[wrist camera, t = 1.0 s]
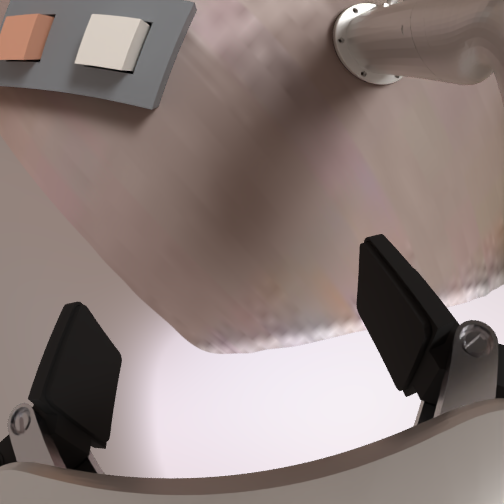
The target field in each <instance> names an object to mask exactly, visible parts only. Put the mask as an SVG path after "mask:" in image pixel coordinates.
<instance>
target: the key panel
mask: <svg viewBox="0 0 504 504" xmlns="http://www.w3.org/2000/svg"><path fill="white" fill-rule="evenodd" d="M196 11H197V9H196V6H195V3H194V2H190V1H185V0H11V1H10V3H9V6H8V8H7V11H6V13H5V16H4V19H3V22H2V25H1V28H0V33H1V30H2V27H3V24H4V21H5V18H6V17H7V16H15V15H26V14H42V15H47V16H51V17H55V18H54V20H53V23H52V26H51V29H50V31H49V34H48V37H47V40H46V43H45V46H44V50H43V53H42V56H41V60H40V61H22V60H0V86H8V87H22V88H32V89H42V90H50V91H58V92H65V93H72V94H78V95H84V96H90V97H96V98H101V99H106V100H111V101H116V102H121V103H126V104H130V105H134V106H139V107H143V108H147V109H151V110H152V109H154V108H156V107H158V106H159V103H160V100H161V97H162V94H163V92H164V89H165V86H166V83H167V80H168V78H169V75H170V72H171V69H172V67H173V64H174V62H175V59H176V57H177V54H178V52H179V49H180V47H181V44H182V42H183V40H184V37H185V35H186V33H187V30H188V28H189V26H190V24H191V22H192V19H193V17H194V15H195V13H196ZM92 14H102V15H113V16H122V17H130V18H137V19H141V20H143V21H144V22H146V23H147V24H148V25H150V26H151V28H150V31H149V33H148V35H147V38H146V40H145V43H144V45H143V48H142V51H141V53H140V56H139V59H138V61H137V64H136V67H135V70H134V73H129V72H124V71H119V70H113V69H107V68H100V67H96V66H92V65H84V64H76V63H75V60H76V57H77V53H78V50H79V47H80V44H81V42H82V39H83V36H84V33H85V30H86V28H87V25H88V23H89V20H90V18H91V15H92Z"/></svg>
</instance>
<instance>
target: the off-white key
mask: <svg viewBox="0 0 504 504" xmlns="http://www.w3.org/2000/svg"><path fill="white" fill-rule="evenodd" d="M150 28H151V26H150V25H148V24H147V23H146V22H144V21H143V20H141V19H137V18H130V17H122V16H113V15H102V14H92V15H91V18H90V20H89V23H88V25H87V28H86V30H85V33H84V36H83V39H82V42H81V44H80V47H79V50H78V53H77V57H76V60H75V63H76V64H84V65H92V66H99V67H105V68H111V69H117V70H125V71H134V70H135V67H136V64H137V61H138V59H139V56H140V53H141V51H142V48H143V45H144V43H145V40H146V38H147V35H148V33H149V31H150Z"/></svg>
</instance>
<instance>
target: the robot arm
mask: <svg viewBox="0 0 504 504" xmlns="http://www.w3.org/2000/svg"><path fill="white" fill-rule="evenodd" d="M397 2H398V0H387V2H386V3H385V4H382V5H376V4H370V3H360V4H356V5H353V6H351V7H349V8H347V9H345V10H344V11H343V12H342V13H341V14H340V15H339V16H338V18H337V20H336V22H335V24H334V29H333V42H334V47H335V50H336V52H337V55H338V57H339V58H340V60H341V62H342V63H343V64H344V66H345V67H346V68H347V69H348V70H349V71H350V72H351V73H352V74H353V75H355V76H356V77H358V78H359V79H361V80H363V81H366V82H368V83H373V84H379V85H385V84H391V83H395V82H397V81H399V80H400V79H401V78H403V77H404V76H405V77H414V78H422V79H429V80H435V81H441V82H447V83H453V84H458V85H474V84H477V83H480V82H482V81H484V80H485V79H487V78H488V77H489V76H490V75H491V74H492V73H493V72H494V74H495V77H496V80H497V83H498V87H499V90H500V93H501V96H502V100H503V105H504V0H403V2H399V3H397ZM352 10H353V11H354V12H353V11H352ZM338 39H339V40H340V42H339V41H338ZM361 72H362V75H361ZM357 310H358V313H359V315H360V317H361V319H362V320H363V322H364V324H365V326H366V328H367V330H368V332H369V334H370V336H371V338H372V339H373V341H374V343H375V345H376V347H377V349H378V351H379V353H380V355H381V357H382V359H383V361H384V363H385V365H386V367H387V369H388V371H389V373H390V375H391V377H392V379H393V382H394V384H395V386H396V388H397V389H398V390H399V391H402V390H403V392H404V394H405V396H406V397H407V396H410V395H412V394H414V393H416V392H417V393H418V395H419V397H420V400H422V401H421V404H420V408H419V411H418V414H417V417H416V421H415V424H414V427H411V428H409V429H407V430H405V431H402V432H400V433H397V434H395V435H392V436H390V437H387V438H385V439H382V440H379V441H376V442H374V443H371V444H368V445H365V446H362V447H359V448H356V449H353V450H350V451H347V452H344V453H341V454H337V455H334V456H330V457H326V458H323V459H319V460H315V461H311V462H307V463H303V464H298V465H294V466H289V467H284V468H278V469H273V470H267V471H261V472H254V473H247V474H239V475H231V476H219V477H206V478H180V479H179V478H176V479H166V478H138V477H124V476H114V475H105V474H104V472H103V471H102V469H101V468H100V466H99V464H98V463H97V461H96V459H95V458H94V456H93V454H92V453H91V451H90V446H92V447H94V448H104V449H105V448H106V442H107V441H108V440H109V437H110V431H111V422H112V415H113V408H114V402H115V396H116V390H117V384H118V378H119V373H120V367H121V362H122V358H121V354H120V352H119V351H118V350H117V348H116V347H115V346H114V344H113V343H112V342H111V341H110V339H109V338H108V336H107V335H106V334H105V332H104V331H103V330H102V328H101V327H100V325H99V324H98V322H97V321H96V319H95V318H94V317H93V315H92V314H91V312H90V311H89V309H88V308H87V307H86V306H85V305H83V304H82V303H81V302H74V303H69V304H66V305H65V306H64V307H63V309H62V312H61V314H60V316H59V318H58V321H57V323H56V325H55V328H54V330H53V332H52V334H51V337H50V339H49V342H48V344H47V347H46V349H45V351H44V354H43V357H42V359H41V362H40V365H39V367H38V370H37V373H36V376H35V379H34V382H33V385H32V388H31V391H30V394H29V397H28V399H29V400H30V401H31V402H32V403H33V404H34V406H33V407H31V406H30V405H29V404H27V403H22V404H19V405H17V406H16V407H15V408H14V409H13V410H12V412H11V414H10V416H9V419H8V432H9V435H8V436H7V437H5V438H4V439H3V440H2V441H1V442H0V504H504V345H501V344H498V339H497V336H496V334H495V332H494V331H493V330H492V329H491V327H490V326H488V325H487V324H485V323H483V322H480V321H476V320H470V321H466V322H464V323H462V324H461V325H459V324H458V322H457V321H456V319H455V318H454V317H453V316H452V314H451V313H450V312H449V310H448V309H447V308H446V306H445V305H444V304H443V302H442V301H441V300H440V299H439V297H438V296H437V295H436V294H435V292H434V291H433V290H432V289H431V287H430V286H429V285H428V284H427V283H426V281H425V280H424V279H423V278H422V277H421V275H420V274H419V273H418V272H417V271H416V270H415V269H414V268H413V267H412V266H411V265H410V264H409V263H408V262H407V260H406V259H405V258H404V257H403V256H402V255H401V254H400V252H399V251H398V250H397V249H396V248H395V247H394V246H393V245H392V244H391V242H390V241H389V240H388V239H387V238H386V237H385V236H384V235H383V234H379V235H375V236H371V237H366V238H365V240H364V243H361V244H360V254H359V276H358V292H357Z"/></svg>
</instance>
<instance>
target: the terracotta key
mask: <svg viewBox="0 0 504 504" xmlns="http://www.w3.org/2000/svg"><path fill="white" fill-rule="evenodd" d="M54 18H55V17H51V16H47V15H42V14H26V15H15V16H7V17H6V18H5V21H4V24H3V27H2V30H1V33H0V60H34V59H41V56H42V53H43V50H44V46H45V43H46V40H47V37H48V34H49V31H50V29H51V26H52V23H53V20H54Z"/></svg>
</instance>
